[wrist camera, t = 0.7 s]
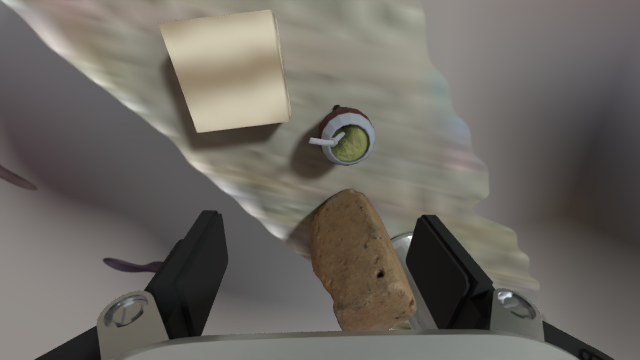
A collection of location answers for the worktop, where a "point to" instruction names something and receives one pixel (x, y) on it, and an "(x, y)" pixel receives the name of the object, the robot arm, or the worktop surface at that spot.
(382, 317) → the block
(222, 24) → the maple block
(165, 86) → the worktop surface
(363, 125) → the mate gourd
